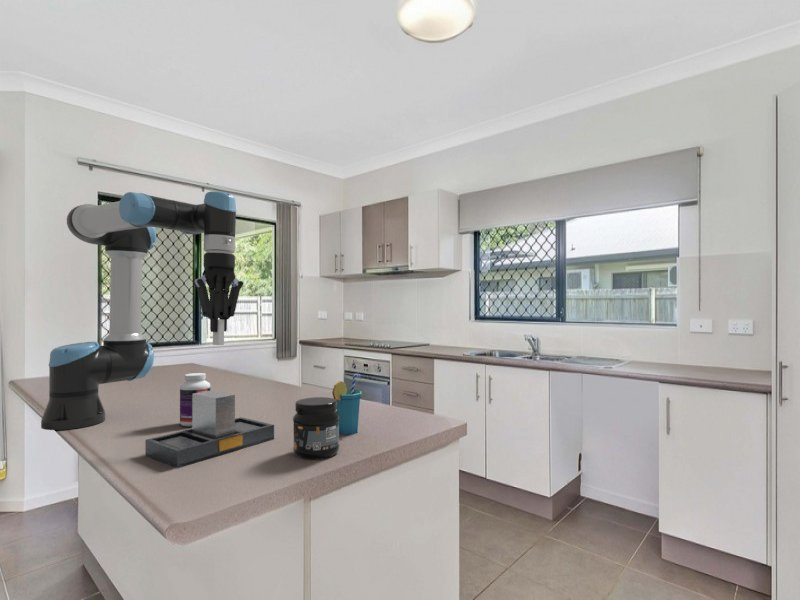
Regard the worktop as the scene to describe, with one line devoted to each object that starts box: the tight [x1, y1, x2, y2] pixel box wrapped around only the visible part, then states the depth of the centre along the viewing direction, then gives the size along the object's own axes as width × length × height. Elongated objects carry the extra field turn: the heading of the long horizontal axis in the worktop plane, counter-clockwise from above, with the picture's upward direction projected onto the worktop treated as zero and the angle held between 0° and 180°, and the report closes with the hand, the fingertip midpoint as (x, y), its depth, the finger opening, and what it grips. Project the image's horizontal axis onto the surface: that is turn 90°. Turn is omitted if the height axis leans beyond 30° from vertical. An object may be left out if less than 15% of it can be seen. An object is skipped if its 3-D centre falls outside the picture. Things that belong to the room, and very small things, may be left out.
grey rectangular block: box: [191, 389, 236, 440], centre depth 107 cm, size 10×5×12 cm, turn 54°
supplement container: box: [292, 396, 340, 461], centre depth 102 cm, size 10×10×12 cm
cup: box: [331, 373, 362, 436], centre depth 120 cm, size 14×8×15 cm, turn 161°
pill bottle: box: [179, 372, 211, 428], centre depth 128 cm, size 8×8×14 cm
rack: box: [144, 416, 275, 469], centre depth 107 cm, size 14×25×4 cm, turn 144°
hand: (218, 344), depth 114 cm, fingers closed
